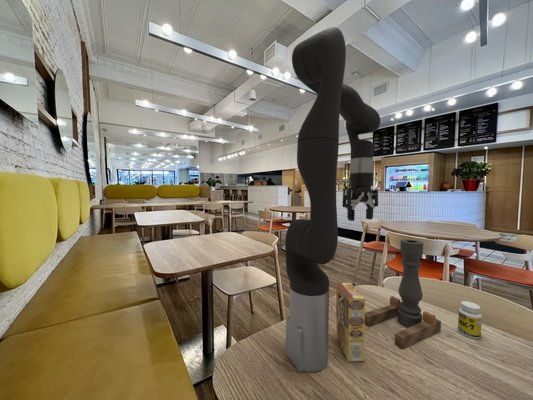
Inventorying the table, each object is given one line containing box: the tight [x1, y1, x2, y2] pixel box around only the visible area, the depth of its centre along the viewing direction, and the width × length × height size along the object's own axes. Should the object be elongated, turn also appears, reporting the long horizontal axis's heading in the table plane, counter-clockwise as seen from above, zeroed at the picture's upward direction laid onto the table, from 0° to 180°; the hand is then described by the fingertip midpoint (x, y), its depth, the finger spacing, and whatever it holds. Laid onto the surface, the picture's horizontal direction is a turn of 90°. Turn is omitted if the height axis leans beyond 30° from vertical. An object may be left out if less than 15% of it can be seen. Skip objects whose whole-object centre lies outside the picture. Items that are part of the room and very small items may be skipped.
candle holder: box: [397, 238, 424, 329], centre depth 66 cm, size 6×6×25 cm
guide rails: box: [365, 295, 442, 350], centre depth 64 cm, size 17×13×6 cm
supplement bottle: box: [457, 300, 483, 340], centre depth 61 cm, size 5×5×8 cm
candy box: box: [335, 282, 366, 362], centre depth 55 cm, size 9×4×15 cm, turn 1°
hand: (360, 219), depth 75 cm, fingers open, 8 cm apart
